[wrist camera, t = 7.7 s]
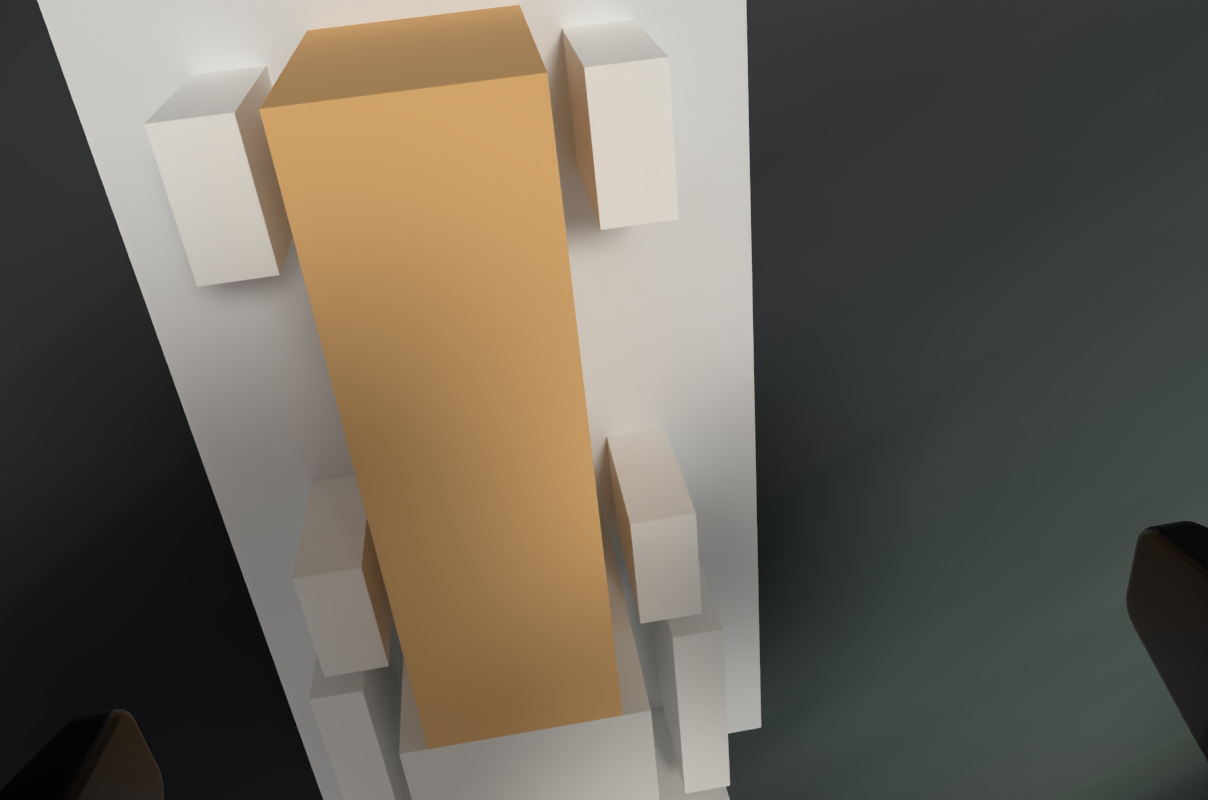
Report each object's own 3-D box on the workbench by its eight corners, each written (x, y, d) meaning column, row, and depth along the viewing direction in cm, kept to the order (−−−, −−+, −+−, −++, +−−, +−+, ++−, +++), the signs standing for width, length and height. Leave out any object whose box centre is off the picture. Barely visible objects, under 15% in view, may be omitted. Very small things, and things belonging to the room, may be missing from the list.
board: (726, -175, 16) (802, -171, 13) (750, 697, 27) (796, 828, 23) (28, -96, 16) (-88, -71, 12) (328, 772, 26) (311, 918, 22)
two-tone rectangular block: (550, 1, 16) (588, 67, 12) (626, 686, 24) (666, 873, 20) (275, 33, 16) (216, 115, 12) (444, 718, 24) (444, 914, 20)
